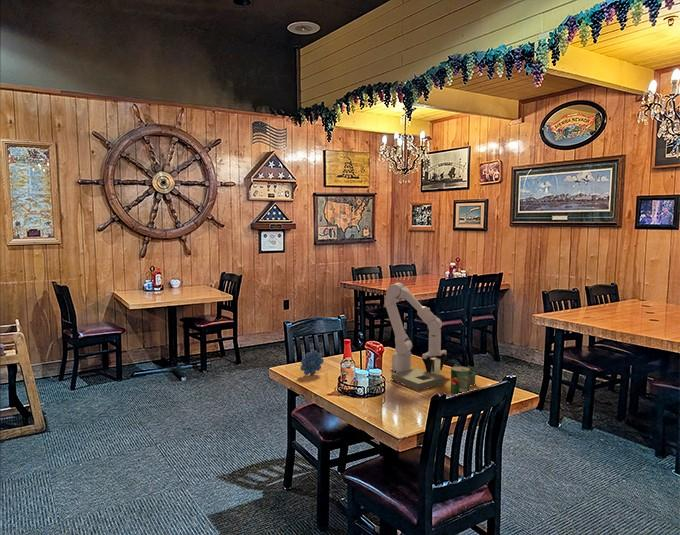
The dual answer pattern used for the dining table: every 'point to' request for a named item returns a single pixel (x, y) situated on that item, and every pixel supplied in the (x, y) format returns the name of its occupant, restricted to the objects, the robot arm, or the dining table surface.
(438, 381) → the well board
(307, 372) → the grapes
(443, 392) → the dining table surface
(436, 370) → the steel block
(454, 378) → the canned tomato
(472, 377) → the bracket
